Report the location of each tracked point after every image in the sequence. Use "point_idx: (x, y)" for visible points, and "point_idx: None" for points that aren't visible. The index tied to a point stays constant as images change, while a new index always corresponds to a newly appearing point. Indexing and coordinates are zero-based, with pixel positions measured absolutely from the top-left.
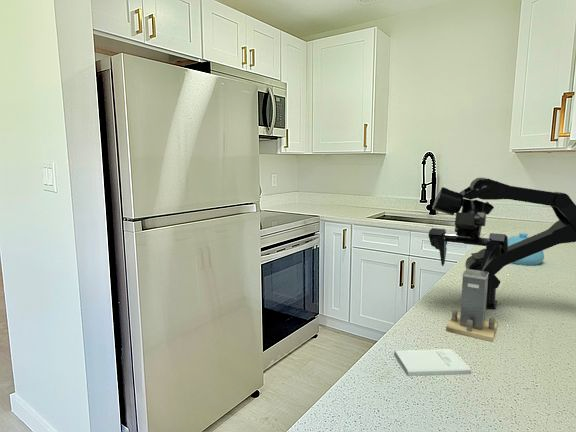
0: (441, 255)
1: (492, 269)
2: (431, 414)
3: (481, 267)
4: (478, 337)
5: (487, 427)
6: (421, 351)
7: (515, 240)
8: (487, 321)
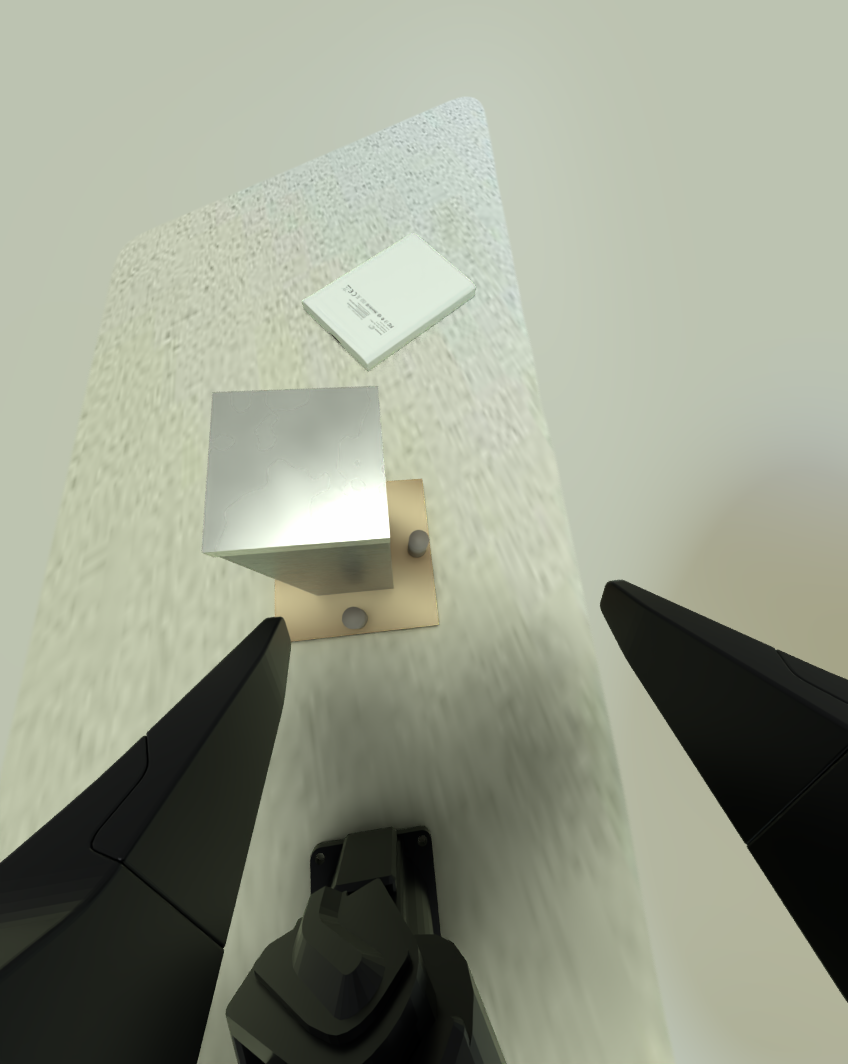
0: (704, 621)
1: None
2: (335, 175)
3: (269, 625)
4: None
5: (250, 186)
6: (422, 309)
7: None
8: (311, 619)
